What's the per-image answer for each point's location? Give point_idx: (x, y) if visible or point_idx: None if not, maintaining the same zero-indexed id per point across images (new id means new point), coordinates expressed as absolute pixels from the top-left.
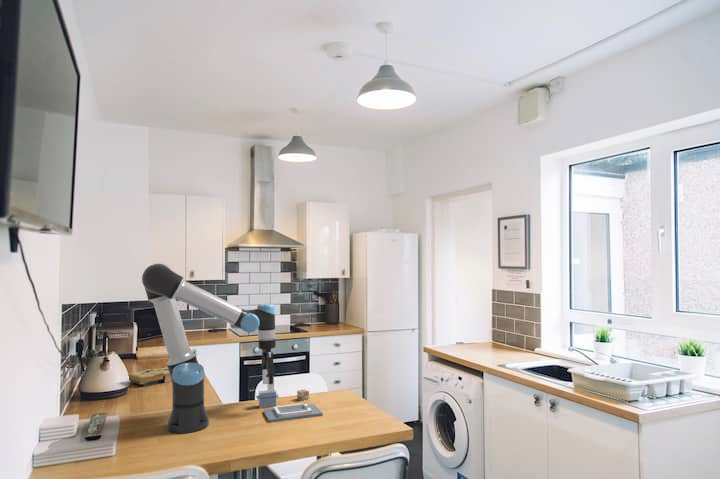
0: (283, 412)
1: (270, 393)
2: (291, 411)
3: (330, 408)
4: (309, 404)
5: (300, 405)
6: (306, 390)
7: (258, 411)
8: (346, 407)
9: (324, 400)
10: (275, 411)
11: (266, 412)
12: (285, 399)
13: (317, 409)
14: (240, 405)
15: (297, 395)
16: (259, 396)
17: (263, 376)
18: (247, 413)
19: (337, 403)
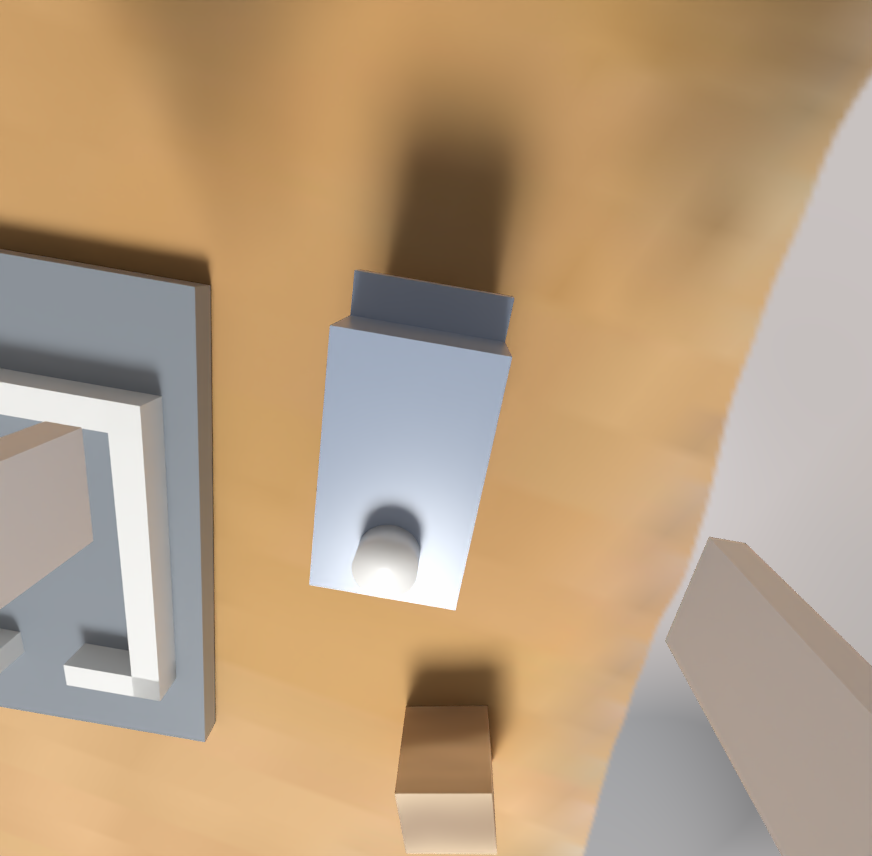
0: None
1: (320, 496)
2: None
3: (114, 776)
4: (202, 712)
5: (135, 644)
6: (446, 848)
7: (270, 241)
8: (102, 845)
9: (334, 824)
10: (17, 377)
11: (71, 284)
12: (554, 632)
13: (35, 703)
14: (680, 85)
15: (483, 742)
16: (409, 326)
17: (833, 704)
18: (243, 70)
19: (217, 847)
